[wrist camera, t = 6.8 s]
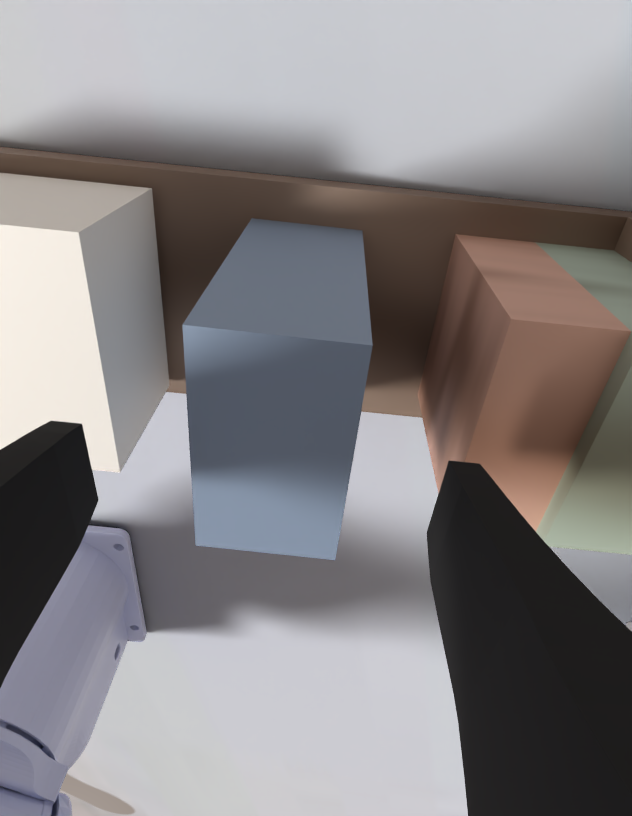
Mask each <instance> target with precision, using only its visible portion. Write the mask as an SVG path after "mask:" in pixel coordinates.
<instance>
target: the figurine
mask: <svg viewBox="0 0 632 816" xmlns="http://www.w3.org/2000/svg"><path fill="white" fill-rule="evenodd" d="M626 627H627V628H628V629H630V630H631V631H632V622H628V623H626Z"/></svg>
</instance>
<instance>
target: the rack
mask: <svg viewBox="0 0 632 816" xmlns="http://www.w3.org/2000/svg"><path fill="white" fill-rule="evenodd" d="M0 173H8V174H18V175H28V176H38V177H47V178H57V179H67V180H77V181H86V182H96V183H106V184H115V185H125V186H135V187H145V188H152V195H153V206H154V217H155V228H156V240H157V251H158V262H159V273H160V284H161V295H162V307H163V318H164V329H165V340H166V351H167V362H168V374H169V387H168V389H167V391H166V392H175V393H185V394H187V393H186V377H185V360H184V343H183V326H182V325H183V323H184V322H185V320H186V319H187V317H188V315H189V314H190V312H191V311H192V309H193V308H194V306H195V305H196V303H197V302H198V300H199V299H200V297H201V295H202V294H203V292H204V291H205V289H206V288H207V286H208V285H209V283H210V282H211V280H212V279H213V277H214V275H215V274H216V272H217V271H218V269H219V268H220V266H221V265H222V263H223V262H224V260H225V259H226V257H227V255H228V254H229V252H230V251H231V249H232V248H233V246H234V245H235V243H236V242H237V240H238V239H239V237H240V236H241V234H242V232H243V231H244V229H245V228H246V226H247V225H248V223H249V222H250V220H251V219H252V218H254V219H263V220H272V221H281V222H290V223H300V224H309V225H318V226H327V227H336V228H345V229H354V230H362V232H363V243H364V254H365V266H366V277H367V288H368V299H369V310H370V322H371V333H372V344H373V346H372V352H371V358H370V363H369V369H368V375H367V381H366V386H365V392H364V398H363V403H362V409H361V411H363V412H372V413H382V414H392V415H402V416H412V417H422V418H423V423H424V427H425V432H426V437H427V441H428V446H429V451H430V455H431V460H432V465H433V469H434V474H435V479H436V483H437V488H438V493H439V491H440V488H441V484H442V481H443V478H444V474H445V471H446V468H447V464H448V461H449V460H450V461H460V462H470V463H479V464H481V466H482V467H483V468H484V469H485V470H486V472H487V473H488V474H489V475H490V477H491V478H492V479H493V480H494V481H495V483H496V484H497V485H498V486H499V488H500V489H501V490H502V491H503V493H504V494H505V495H506V496H507V498H508V499H509V500H510V501H511V503H512V504H513V505H514V506H515V507H516V509H517V510H518V511H519V512H520V514H521V515H522V516H523V517H524V518H525V520H526V521H527V522H528V523H529V524H530V526H531V527H532V528H533V529H534V530H535V531H536V533H537V534H538V535H539V536H540V537H541V538H542V540H543V541H544V542H545V543H546V544H547V545H548V546H549V547H558V548H568V549H578V550H588V551H598V552H608V553H618V554H628V555H632V212H630V211H620V210H610V209H601V208H591V207H581V206H572V205H562V204H552V203H542V202H533V201H523V200H513V199H504V198H494V197H484V196H474V195H465V194H455V193H445V192H436V191H426V190H416V189H407V188H397V187H387V186H377V185H368V184H358V183H348V182H339V181H329V180H319V179H309V178H300V177H290V176H280V175H271V174H261V173H251V172H241V171H232V170H222V169H212V168H203V167H193V166H183V165H173V164H164V163H154V162H144V161H135V160H125V159H115V158H105V157H96V156H86V155H76V154H67V153H57V152H47V151H37V150H28V149H18V148H8V147H0Z"/></svg>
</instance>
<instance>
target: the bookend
mask: <svg viewBox="0 0 632 816" xmlns="http://www.w3.org/2000/svg"><path fill="white" fill-rule="evenodd" d="M168 387H169V374H168V362H167V351H166V340H165V329H164V318H163V307H162V295H161V284H160V273H159V262H158V251H157V240H156V228H155V217H154V206H153V195H152V188H145V187H135V186H125V185H115V184H106V183H96V182H86V181H77V180H67V179H57V178H47V177H38V176H28V175H18V174H8V173H0V450H1V449H2V448H4V447H6V446H7V445H9V444H11V443H12V442H14V441H16V440H17V439H19V438H21V437H22V436H24V435H26V434H27V433H29V432H31V431H33V430H34V429H36V428H38V427H40V426H42V425H44V424H46V423H47V422H49V421H60V422H70V423H80V424H82V426H83V430H84V435H85V440H86V444H87V449H88V454H89V459H90V463H91V468H92V470H99V471H109V472H119V473H120V472H121V470H122V468H123V467H124V465H125V463H126V461H127V460H128V458H129V456H130V454H131V453H132V451H133V449H134V447H135V446H136V444H137V442H138V440H139V438H140V437H141V435H142V433H143V431H144V430H145V428H146V426H147V424H148V423H149V421H150V419H151V417H152V416H153V414H154V412H155V410H156V408H157V407H158V405H159V403H160V401H161V400H162V398H163V396H164V394H165V393H166V391H167V389H168Z"/></svg>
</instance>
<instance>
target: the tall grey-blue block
mask: <svg viewBox="0 0 632 816" xmlns="http://www.w3.org/2000/svg"><path fill="white" fill-rule="evenodd" d="M182 326H183V343H184V360H185V377H186V393H187V410H188V427H189V444H190V461H191V478H192V494H193V511H194V528H195V545H196V546H204V547H214V548H224V549H233V550H243V551H252V552H262V553H271V554H281V555H290V556H300V557H309V558H319V559H328V560H335V558H336V553H337V547H338V541H339V535H340V530H341V524H342V518H343V513H344V507H345V501H346V495H347V490H348V484H349V478H350V472H351V467H352V461H353V455H354V449H355V444H356V438H357V432H358V426H359V421H360V415H361V409H362V403H363V398H364V392H365V386H366V381H367V375H368V369H369V363H370V358H371V352H372V346H373V344H372V333H371V322H370V310H369V299H368V288H367V277H366V266H365V254H364V243H363V232H362V230H354V229H345V228H336V227H327V226H318V225H309V224H300V223H290V222H281V221H272V220H263V219H254V218H252V219H251V220H250V222H249V223H248V225H247V226H246V228H245V229H244V231H243V232H242V234H241V236H240V237H239V239H238V240H237V242H236V243H235V245H234V246H233V248H232V249H231V251H230V252H229V254H228V255H227V257H226V259H225V260H224V262H223V263H222V265H221V266H220V268H219V269H218V271H217V272H216V274H215V275H214V277H213V279H212V280H211V282H210V283H209V285H208V286H207V288H206V289H205V291H204V292H203V294H202V295H201V297H200V299H199V300H198V302H197V303H196V305H195V306H194V308H193V309H192V311H191V312H190V314H189V315H188V317H187V319H186V320H185V322H184V323H183V325H182Z"/></svg>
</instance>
